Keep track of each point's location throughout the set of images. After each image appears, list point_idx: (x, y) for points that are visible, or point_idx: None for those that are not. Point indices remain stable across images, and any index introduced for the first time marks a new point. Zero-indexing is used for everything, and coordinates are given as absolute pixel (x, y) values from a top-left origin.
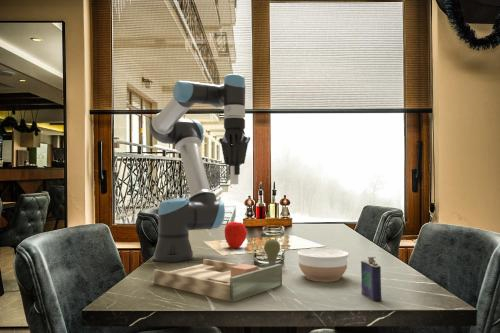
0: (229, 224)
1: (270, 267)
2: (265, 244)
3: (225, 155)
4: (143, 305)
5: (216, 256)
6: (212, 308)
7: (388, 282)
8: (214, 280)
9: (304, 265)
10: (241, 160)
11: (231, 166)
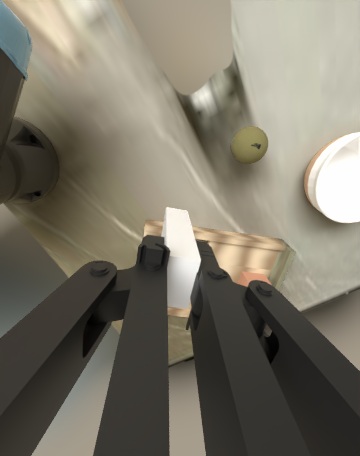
0: None
1: (285, 274)
2: (239, 158)
3: (66, 388)
4: (184, 348)
5: (71, 86)
6: None
7: None
8: None
9: (320, 211)
10: (271, 337)
11: (168, 303)
